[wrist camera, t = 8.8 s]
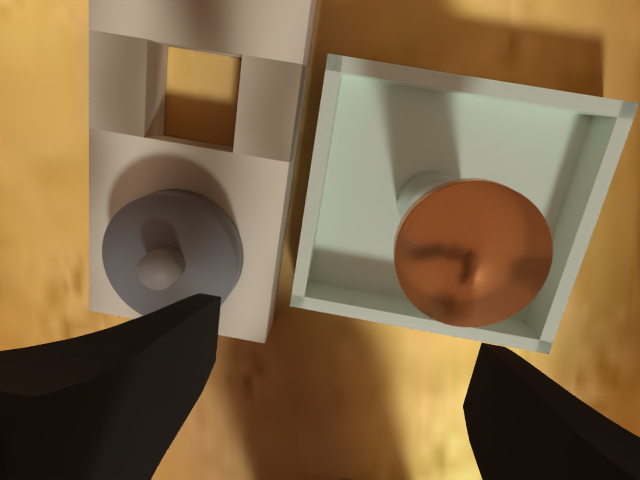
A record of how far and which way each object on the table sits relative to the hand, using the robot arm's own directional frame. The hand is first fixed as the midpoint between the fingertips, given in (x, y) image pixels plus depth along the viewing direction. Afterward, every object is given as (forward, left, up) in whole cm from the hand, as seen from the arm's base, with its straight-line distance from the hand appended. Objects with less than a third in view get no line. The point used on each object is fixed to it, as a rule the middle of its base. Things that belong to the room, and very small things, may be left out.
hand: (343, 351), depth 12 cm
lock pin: (+3, +3, -10) cm, 11 cm away
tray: (+4, +3, -10) cm, 11 cm away
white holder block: (-8, +3, -10) cm, 13 cm away
